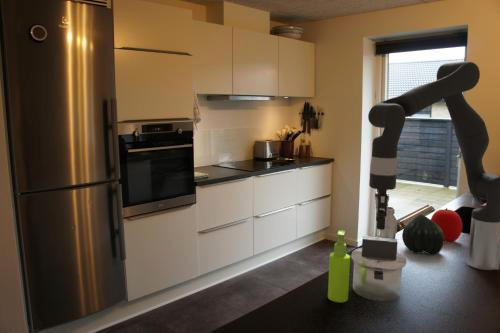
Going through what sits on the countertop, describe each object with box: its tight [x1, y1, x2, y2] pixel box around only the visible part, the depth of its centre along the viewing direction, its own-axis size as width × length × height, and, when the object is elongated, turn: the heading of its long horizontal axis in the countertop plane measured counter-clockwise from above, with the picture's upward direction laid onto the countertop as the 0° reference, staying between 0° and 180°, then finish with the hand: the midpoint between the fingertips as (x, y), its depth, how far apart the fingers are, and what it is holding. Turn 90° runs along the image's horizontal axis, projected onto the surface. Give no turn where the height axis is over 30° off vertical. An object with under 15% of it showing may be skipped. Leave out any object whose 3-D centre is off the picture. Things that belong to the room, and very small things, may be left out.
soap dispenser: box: [327, 229, 351, 303], centre depth 122 cm, size 6×7×20 cm
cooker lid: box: [350, 235, 408, 270], centre depth 126 cm, size 16×16×6 cm
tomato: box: [430, 207, 463, 243], centre depth 174 cm, size 13×11×14 cm
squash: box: [401, 213, 445, 256], centre depth 162 cm, size 14×15×15 cm
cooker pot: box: [352, 261, 403, 302], centre depth 127 cm, size 14×21×10 cm
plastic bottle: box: [378, 206, 398, 239], centre depth 150 cm, size 6×7×20 cm
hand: (380, 225), depth 125 cm, fingers open, 8 cm apart
